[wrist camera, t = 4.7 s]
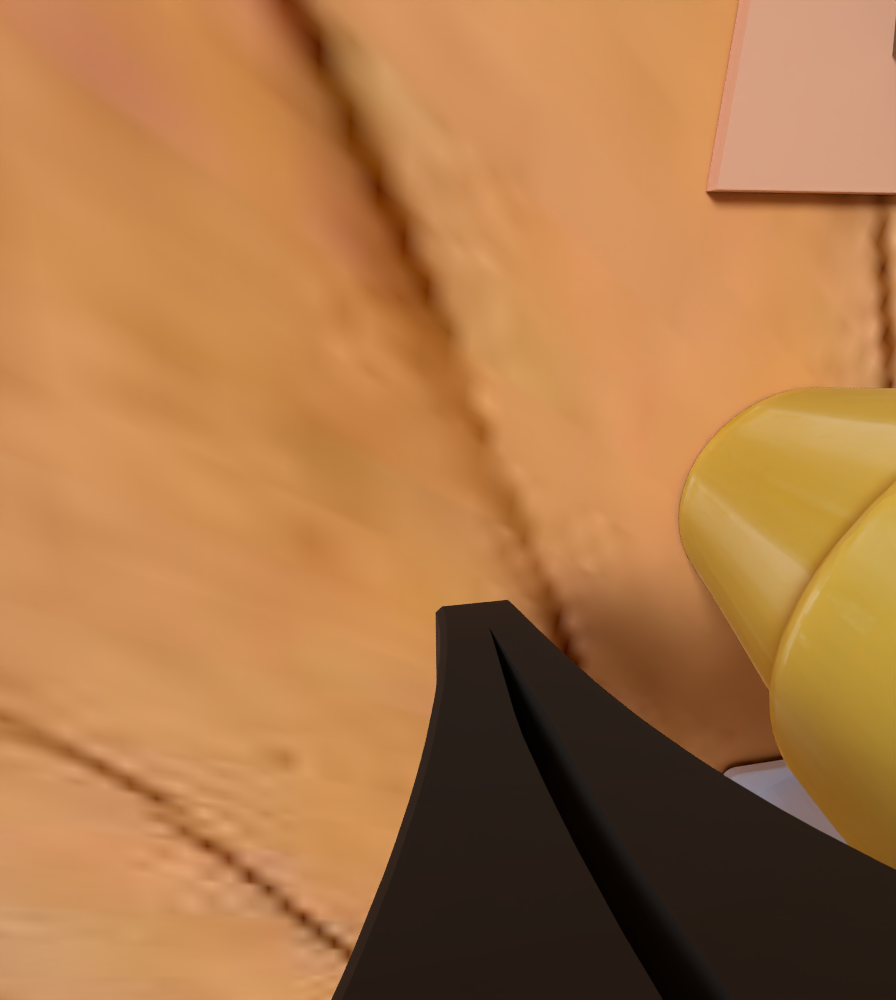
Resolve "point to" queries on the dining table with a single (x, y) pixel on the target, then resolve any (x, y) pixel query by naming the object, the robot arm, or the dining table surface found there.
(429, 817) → the robot arm
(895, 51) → the walnut block
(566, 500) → the dining table surface
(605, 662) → the dining table surface
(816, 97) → the terracotta mat
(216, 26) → the dining table surface
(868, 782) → the plant pot
